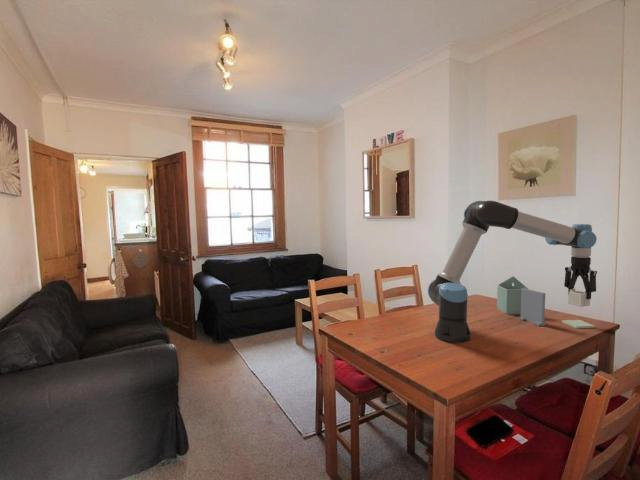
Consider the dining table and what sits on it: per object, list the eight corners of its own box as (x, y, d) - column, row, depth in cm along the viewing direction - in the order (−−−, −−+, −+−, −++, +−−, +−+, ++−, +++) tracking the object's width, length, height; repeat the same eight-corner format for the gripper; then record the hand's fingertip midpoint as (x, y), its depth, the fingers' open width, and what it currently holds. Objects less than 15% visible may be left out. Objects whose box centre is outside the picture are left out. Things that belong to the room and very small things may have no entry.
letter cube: (580, 306, 162) (581, 294, 162) (568, 303, 168) (568, 291, 168) (589, 305, 164) (590, 292, 164) (577, 302, 170) (577, 290, 169)
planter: (491, 311, 193) (491, 276, 191) (497, 308, 198) (497, 274, 196) (523, 317, 180) (524, 280, 179) (528, 314, 185) (529, 278, 184)
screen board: (546, 325, 168) (548, 292, 166) (539, 326, 166) (540, 293, 165) (525, 318, 179) (526, 287, 178) (517, 319, 178) (518, 288, 176)
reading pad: (576, 328, 162) (576, 326, 162) (561, 322, 171) (562, 320, 171) (594, 327, 163) (594, 325, 163) (579, 321, 172) (579, 319, 172)
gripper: (608, 258, 156) (605, 308, 158) (567, 253, 174) (565, 298, 176) (596, 259, 154) (594, 310, 156) (556, 254, 172) (554, 300, 174)
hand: (579, 303), depth 166 cm, fingers closed on letter cube, 6 cm apart
